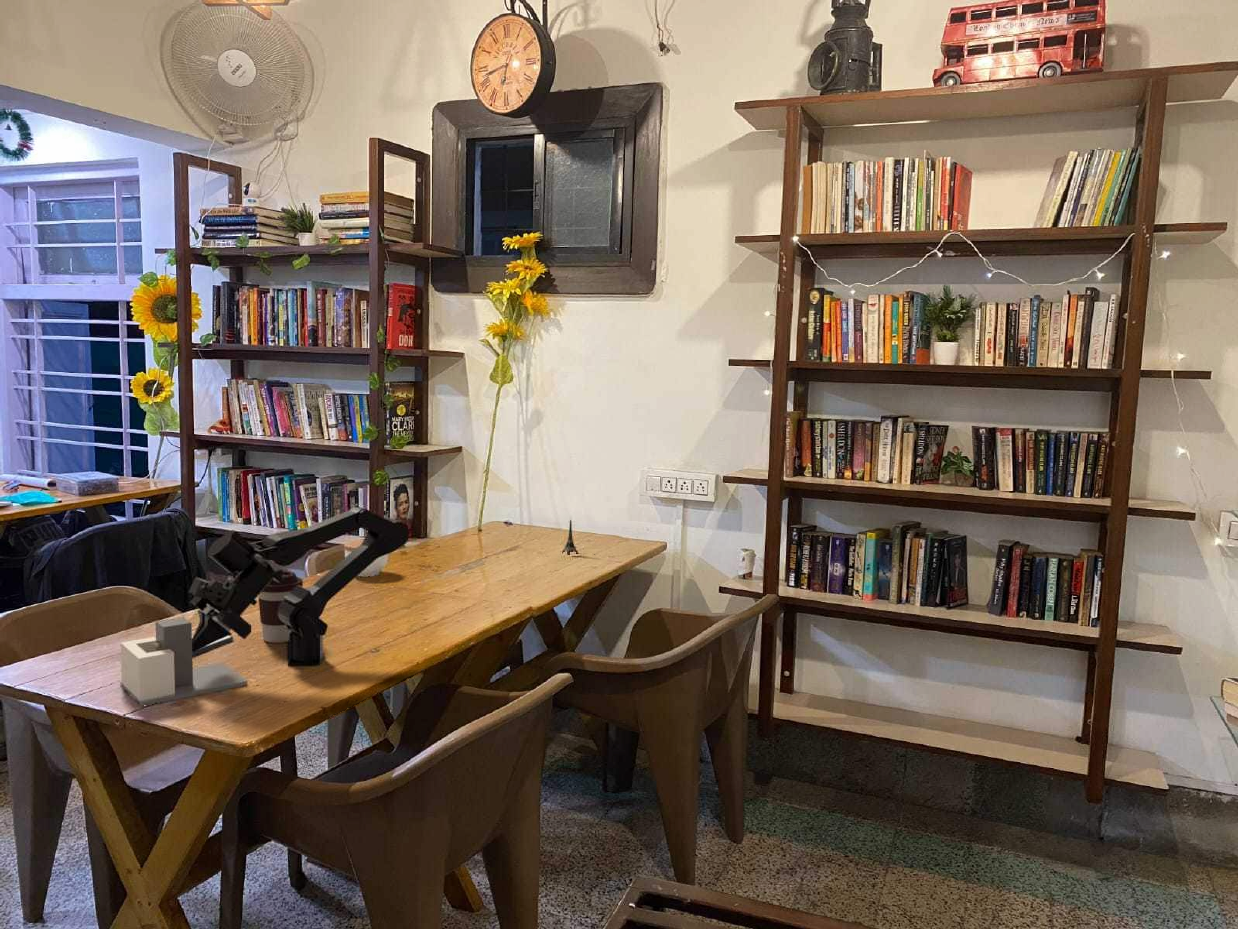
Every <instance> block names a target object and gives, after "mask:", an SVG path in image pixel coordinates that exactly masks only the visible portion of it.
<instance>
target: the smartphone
mask: <svg viewBox="0 0 1238 929" xmlns="http://www.w3.org/2000/svg"><path fill="white" fill-rule="evenodd" d="M192 638H193V635H192ZM232 640H233V641H234V637H233V635H231V636H226V637H224V638H222V639H219V640H217V641H215V642H213V643H210V644H209V645H207V646H205V647H202V648H200V649H198V650H196V651H194V652H192V658H194V657H196V656H198V654H199V655H201V654H203V653H205V652H206V653H207V652H209V651H211V650H213V648H214V649H216V648H219V647H221V646H224V645H226V644H229V643H231V642H233V641H232ZM230 641H231V642H230ZM225 643H226V644H225ZM208 650H209V651H208Z"/></svg>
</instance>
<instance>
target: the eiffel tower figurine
mask: <svg viewBox="0 0 1238 929" xmlns="http://www.w3.org/2000/svg"><path fill="white" fill-rule="evenodd" d="M572 522H573V521H572V519H570V520H569V528H568V536H567V537H568V539H567V541H566V544H565V545H564V548H563V549H562V553H563V552H565V551H566V552H567V555H570V552H576V554H579V553H578V549H577V547H576V546H575V542H574V540H573V539H574V538H573V528H572V525H573V523H572Z"/></svg>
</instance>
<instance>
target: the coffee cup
mask: <svg viewBox="0 0 1238 929" xmlns="http://www.w3.org/2000/svg"><path fill="white" fill-rule="evenodd" d="M282 575H283V583H282V584H281V583H279V582H276V581H274V580H273V579H272V580H271V581H270V583H269V584H268V585H267V586H266V587H265V588H264V589H263V591H262V592H261V593H260V594H259V595H258V607H259V618H260V623H261V629H262V638H263V641H265V642H268V643H272V644H282V643H287V640H288V639H289V634H290V633H291V630H288V629H287V627H286V624H285V623H283V622H282V621H281V620H280V619H279V617H278V606H279V604H280V603H281V602H282V601H283V600H284V599H283V598H282V597H283V596H286V595H288V594H289V593H290V592H291V591H292V590H293V589H294V588H295V587H296V586H297V585H299V586H301V587H303V586H304V584H303V583H304V580H303V579H302V578H301V577H298V576H297V575H296V573H295V572H294V571H291V570H290V571H289V570H283V574H282Z"/></svg>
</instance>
